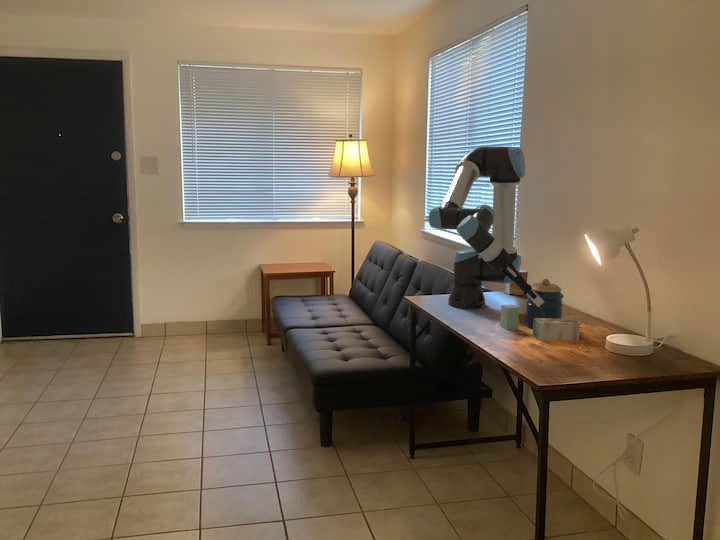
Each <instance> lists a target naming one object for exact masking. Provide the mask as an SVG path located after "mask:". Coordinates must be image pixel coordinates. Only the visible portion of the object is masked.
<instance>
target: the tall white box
mask: <svg viewBox="0 0 720 540" xmlns="http://www.w3.org/2000/svg"><path fill="white" fill-rule="evenodd" d="M580 326H581V322H579V321H578V320H576V319H575V318H562V319H554V318H534V320H533V328H532V336H533V337H534V338H535V339H536V340H537V341H580V340H579V339H580V330H581V329H580V328H581V327H580Z"/></svg>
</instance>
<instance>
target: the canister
mask: <svg viewBox="0 0 720 540" xmlns="http://www.w3.org/2000/svg"><path fill="white" fill-rule="evenodd" d="M531 287H532V289H533V290H534V291H535V292H536V293H537V294H538V295H539V297H540V298H541V299H542V300H543V301H544V303H543V304H541V305H540V306H539V307H538V306H537V305H536V304H535V303H534V302H533V301H532V300H531V299H530V298H529V297H528V296H527V301H526V303H525V304H526V307H525V308H526V310H525V317H524V322H525V326H526V327H528V328H530V329H533V320H534V318H554V319H563V307H564V304H563V299H564V297H565V295H564V294H563V293H562V290H563V289H562V288H561V287H560V286H559V285H557V284H555V283H550V280H549V279H548V278H544V279H543V280H541V282H538V283H537V282H536V283H533V284H532V285H531Z"/></svg>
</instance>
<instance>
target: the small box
mask: <svg viewBox="0 0 720 540" xmlns="http://www.w3.org/2000/svg"><path fill="white" fill-rule="evenodd" d="M528 274H529V273H528V271H526V270H525V269H520V270H519V275H520V276H521V277H522V278H523V279H524V280H525V281H526V282H527V283H528ZM505 293H506V294H508V295H509V294H513V295H517V296H518V295H520V296H525V295H524V294H523V293H524V292H523V291H522V290H521V289H520V288H519V287H518V286H517V284H516V283H515V282H514V283H505Z"/></svg>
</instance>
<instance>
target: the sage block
mask: <svg viewBox="0 0 720 540" xmlns="http://www.w3.org/2000/svg"><path fill="white" fill-rule="evenodd" d="M519 310H520V307H519V306H517V305H515V304H502V305H501V306H500V323H499V324H500V325H499V326H500V328H502V329H503V330H506V331H508V330H509V329H513V330H518V329H519V328H518V327H519V315H520V314H519ZM509 331H510V330H509Z"/></svg>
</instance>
